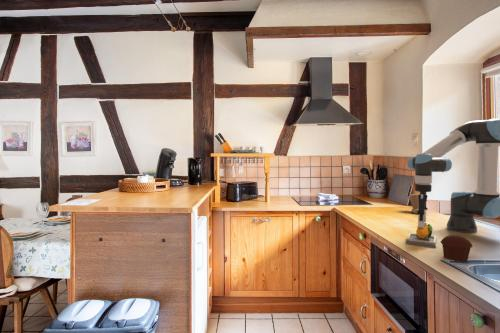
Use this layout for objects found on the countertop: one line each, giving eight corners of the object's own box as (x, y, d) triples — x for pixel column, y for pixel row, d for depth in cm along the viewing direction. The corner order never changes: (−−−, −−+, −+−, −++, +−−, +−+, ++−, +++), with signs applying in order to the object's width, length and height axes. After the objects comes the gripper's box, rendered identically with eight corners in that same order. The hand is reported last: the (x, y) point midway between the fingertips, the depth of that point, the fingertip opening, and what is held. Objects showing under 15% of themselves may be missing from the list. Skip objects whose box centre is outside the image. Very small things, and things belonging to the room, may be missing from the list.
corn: (432, 220, 165) (429, 228, 149) (434, 234, 165) (431, 243, 148) (417, 220, 169) (412, 227, 153) (418, 234, 169) (414, 243, 153)
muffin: (439, 259, 135) (440, 236, 134) (440, 252, 144) (441, 231, 144) (472, 265, 128) (473, 241, 128) (471, 257, 137) (472, 235, 137)
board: (436, 240, 164) (436, 236, 163) (435, 247, 151) (435, 243, 151) (409, 236, 171) (409, 232, 170) (406, 243, 158) (406, 239, 158)
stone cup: (409, 210, 246) (410, 191, 245) (426, 212, 240) (427, 192, 239) (408, 213, 233) (408, 194, 232) (426, 215, 227) (426, 195, 226)
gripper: (416, 181, 172) (415, 219, 173) (412, 185, 151) (411, 228, 152) (432, 182, 168) (431, 220, 169) (430, 186, 147) (429, 230, 148)
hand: (422, 224), depth 160 cm, fingers open, 13 cm apart
